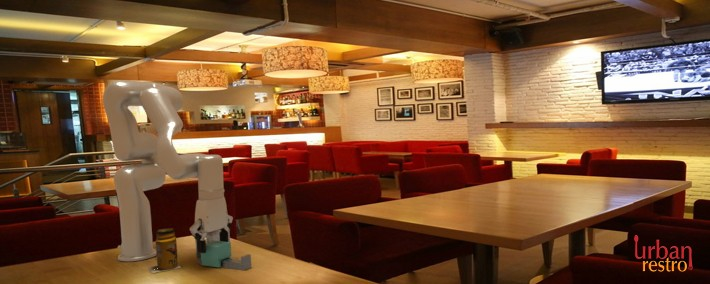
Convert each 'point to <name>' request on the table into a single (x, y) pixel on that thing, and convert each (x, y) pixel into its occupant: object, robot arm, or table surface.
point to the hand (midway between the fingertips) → (213, 248)
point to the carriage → (216, 253)
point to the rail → (232, 262)
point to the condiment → (166, 251)
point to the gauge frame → (213, 237)
